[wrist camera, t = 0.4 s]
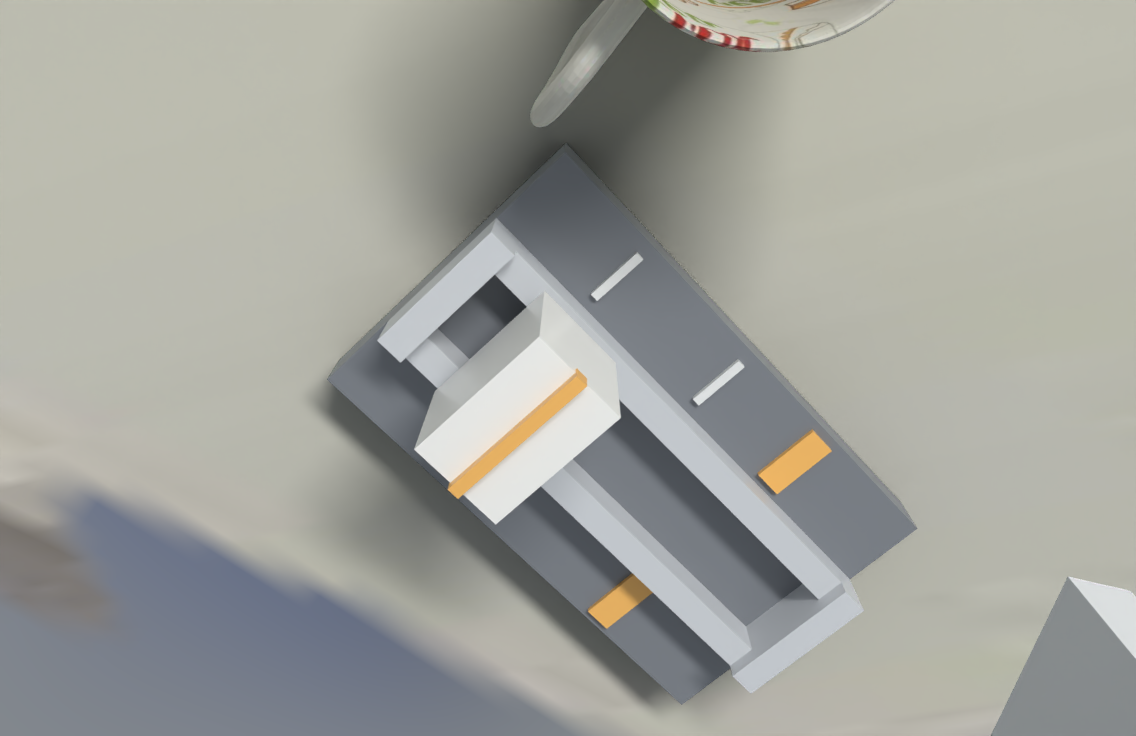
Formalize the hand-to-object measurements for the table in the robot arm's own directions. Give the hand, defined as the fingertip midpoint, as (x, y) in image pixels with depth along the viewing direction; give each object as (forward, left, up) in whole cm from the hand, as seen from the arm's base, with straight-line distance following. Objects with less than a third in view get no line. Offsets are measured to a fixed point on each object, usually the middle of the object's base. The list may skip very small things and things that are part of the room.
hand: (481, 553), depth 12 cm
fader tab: (+4, -4, -22) cm, 23 cm away
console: (+9, -4, -24) cm, 26 cm away
